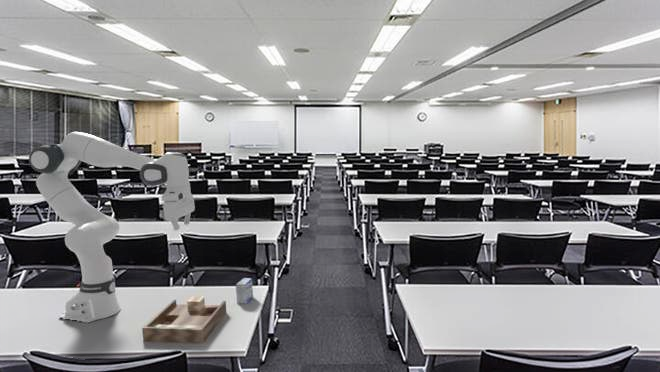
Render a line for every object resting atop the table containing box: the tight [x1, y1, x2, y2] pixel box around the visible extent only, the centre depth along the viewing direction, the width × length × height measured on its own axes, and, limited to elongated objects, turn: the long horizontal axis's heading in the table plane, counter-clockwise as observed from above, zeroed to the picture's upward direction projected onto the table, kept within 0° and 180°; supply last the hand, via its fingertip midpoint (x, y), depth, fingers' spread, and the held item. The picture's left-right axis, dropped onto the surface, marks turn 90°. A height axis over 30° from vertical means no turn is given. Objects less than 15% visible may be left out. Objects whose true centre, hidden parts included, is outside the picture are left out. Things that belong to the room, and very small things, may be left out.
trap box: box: [141, 299, 227, 344], centre depth 167 cm, size 22×25×5 cm
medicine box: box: [235, 277, 254, 305], centre depth 191 cm, size 8×4×9 cm, turn 168°
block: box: [186, 295, 206, 311], centre depth 176 cm, size 5×5×4 cm
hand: (182, 227), depth 176 cm, fingers open, 8 cm apart
